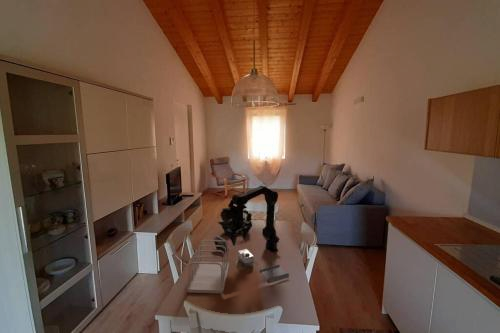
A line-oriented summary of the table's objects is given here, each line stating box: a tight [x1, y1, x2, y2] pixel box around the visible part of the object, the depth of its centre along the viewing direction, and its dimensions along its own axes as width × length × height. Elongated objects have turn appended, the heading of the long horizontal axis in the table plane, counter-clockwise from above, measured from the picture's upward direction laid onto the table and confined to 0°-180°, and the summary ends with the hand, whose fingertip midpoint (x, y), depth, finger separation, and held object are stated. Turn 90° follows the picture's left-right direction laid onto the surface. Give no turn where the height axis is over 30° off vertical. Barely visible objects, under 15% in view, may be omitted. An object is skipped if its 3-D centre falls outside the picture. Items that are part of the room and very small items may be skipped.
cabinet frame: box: [259, 263, 290, 284], centre depth 131 cm, size 12×10×2 cm
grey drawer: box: [237, 248, 254, 269], centre depth 139 cm, size 6×9×7 cm, turn 25°
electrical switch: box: [213, 235, 230, 253], centre depth 156 cm, size 9×5×9 cm, turn 44°
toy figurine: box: [217, 209, 253, 235], centre depth 183 cm, size 9×19×25 cm
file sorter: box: [187, 239, 230, 294], centre depth 127 cm, size 25×17×16 cm
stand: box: [232, 258, 259, 271], centre depth 140 cm, size 12×10×2 cm
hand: (239, 242), depth 141 cm, fingers open, 9 cm apart
